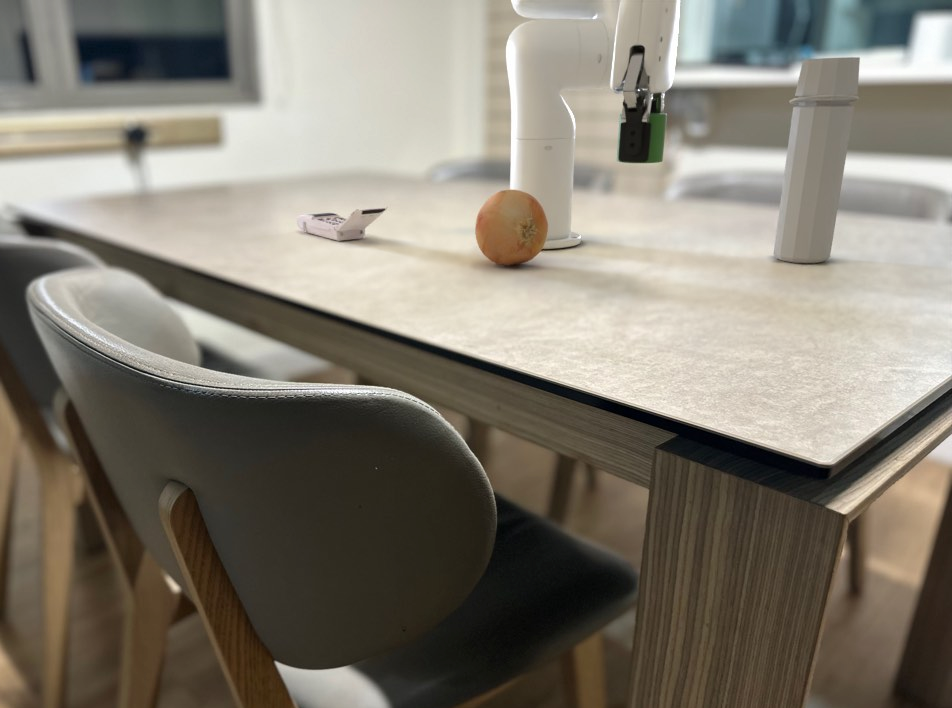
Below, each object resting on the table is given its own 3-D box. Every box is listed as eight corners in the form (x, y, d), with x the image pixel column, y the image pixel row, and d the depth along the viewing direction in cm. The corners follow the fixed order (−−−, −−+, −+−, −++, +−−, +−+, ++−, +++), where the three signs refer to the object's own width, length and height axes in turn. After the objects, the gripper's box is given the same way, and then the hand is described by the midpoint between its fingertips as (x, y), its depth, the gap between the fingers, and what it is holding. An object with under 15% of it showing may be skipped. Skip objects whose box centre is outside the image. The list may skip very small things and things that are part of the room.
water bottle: (840, 265, 105) (874, 56, 96) (775, 264, 106) (803, 58, 98) (821, 252, 113) (851, 59, 104) (761, 251, 115) (786, 61, 106)
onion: (505, 275, 104) (506, 196, 100) (460, 264, 112) (460, 189, 108) (562, 266, 109) (565, 189, 105) (515, 255, 117) (516, 184, 113)
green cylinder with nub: (611, 162, 90) (615, 109, 87) (622, 158, 94) (626, 107, 92) (657, 163, 87) (662, 109, 85) (666, 159, 91) (671, 107, 89)
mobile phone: (357, 209, 123) (287, 195, 143) (358, 248, 125) (289, 229, 145) (391, 206, 126) (317, 193, 146) (391, 244, 128) (319, 226, 148)
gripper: (637, -14, 92) (624, 152, 99) (596, -29, 78) (584, 165, 85) (705, -19, 89) (687, 153, 96) (675, -35, 75) (657, 167, 82)
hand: (639, 157), depth 90 cm, fingers closed on green cylinder with nub, 5 cm apart
